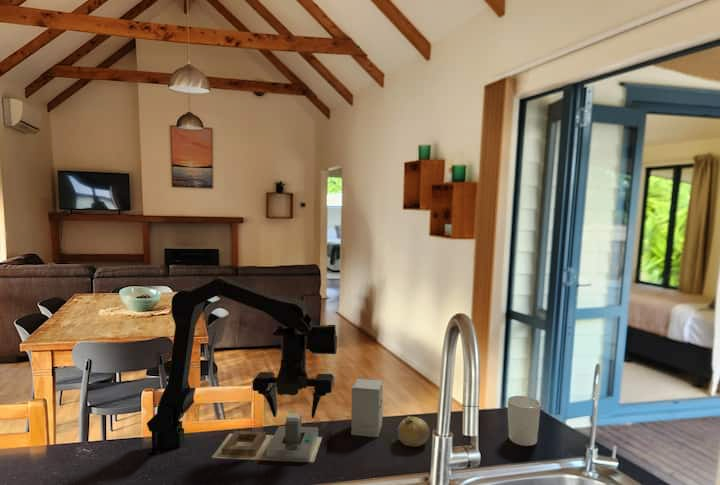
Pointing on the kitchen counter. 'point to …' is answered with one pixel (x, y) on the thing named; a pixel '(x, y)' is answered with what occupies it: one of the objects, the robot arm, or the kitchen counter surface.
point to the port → (292, 446)
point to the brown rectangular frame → (251, 450)
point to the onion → (413, 431)
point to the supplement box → (366, 407)
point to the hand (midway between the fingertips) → (294, 417)
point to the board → (261, 453)
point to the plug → (293, 429)
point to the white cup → (523, 420)
